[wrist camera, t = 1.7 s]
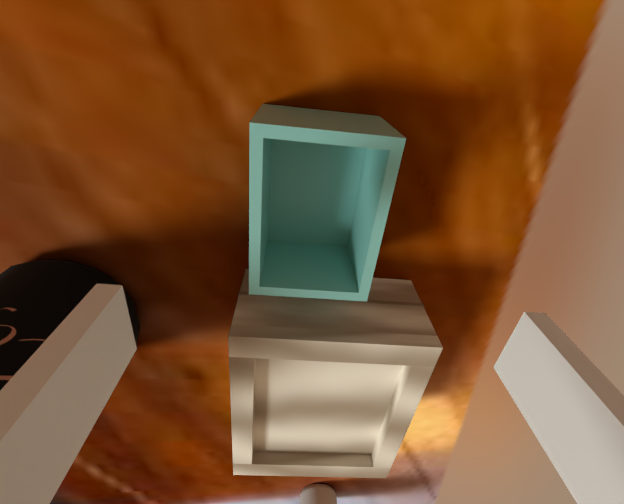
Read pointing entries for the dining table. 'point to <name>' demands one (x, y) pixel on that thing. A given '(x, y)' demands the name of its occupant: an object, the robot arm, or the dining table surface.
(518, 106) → the dining table surface
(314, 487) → the beverage can
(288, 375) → the beige crate
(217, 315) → the dining table surface
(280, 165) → the teal crate
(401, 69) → the dining table surface
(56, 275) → the coffee jar
